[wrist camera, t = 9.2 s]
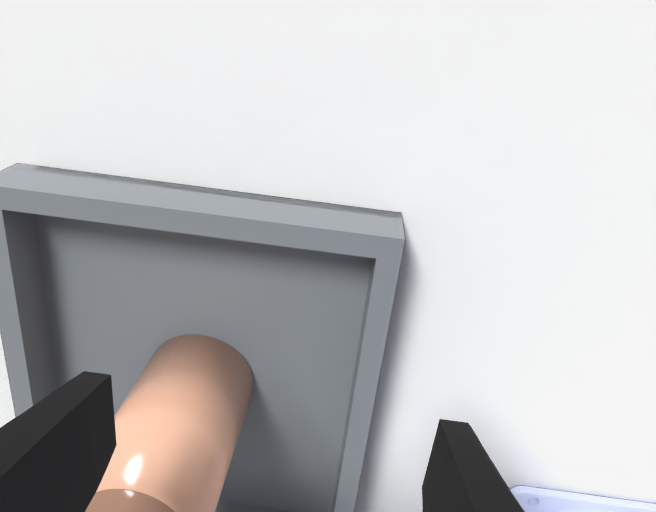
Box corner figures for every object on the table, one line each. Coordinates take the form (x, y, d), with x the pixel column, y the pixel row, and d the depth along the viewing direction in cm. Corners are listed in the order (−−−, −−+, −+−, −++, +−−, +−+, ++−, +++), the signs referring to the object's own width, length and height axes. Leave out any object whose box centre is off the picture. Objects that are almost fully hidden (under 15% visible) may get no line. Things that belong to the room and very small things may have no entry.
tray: (401, 212, 19) (405, 239, 17) (345, 519, 26) (343, 565, 24) (17, 163, 20) (-27, 183, 18) (61, 480, 27) (34, 523, 24)
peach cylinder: (258, 344, 21) (207, 492, 15) (249, 427, 23) (200, 588, 17) (149, 325, 22) (52, 465, 15) (149, 409, 24) (64, 563, 17)
